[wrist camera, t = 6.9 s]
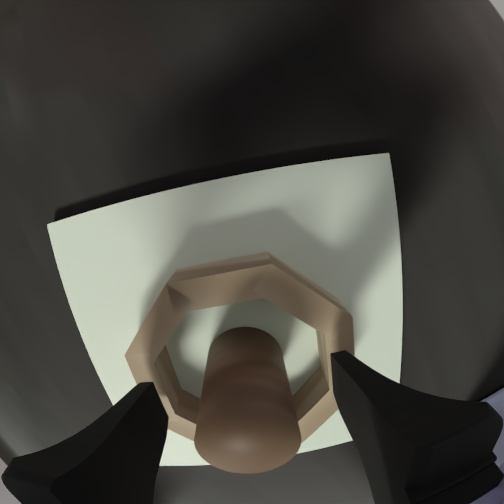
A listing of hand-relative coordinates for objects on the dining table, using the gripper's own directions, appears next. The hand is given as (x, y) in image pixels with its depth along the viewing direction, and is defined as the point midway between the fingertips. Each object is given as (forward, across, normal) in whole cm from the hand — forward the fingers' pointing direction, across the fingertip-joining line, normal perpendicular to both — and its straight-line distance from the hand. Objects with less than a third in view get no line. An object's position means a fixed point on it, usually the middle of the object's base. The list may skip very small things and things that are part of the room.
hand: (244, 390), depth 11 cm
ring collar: (+3, 0, 0) cm, 3 cm away
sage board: (+3, 0, 0) cm, 3 cm away
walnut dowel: (+3, 0, 0) cm, 3 cm away
